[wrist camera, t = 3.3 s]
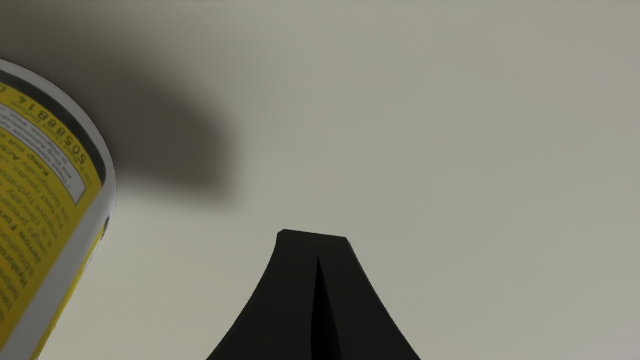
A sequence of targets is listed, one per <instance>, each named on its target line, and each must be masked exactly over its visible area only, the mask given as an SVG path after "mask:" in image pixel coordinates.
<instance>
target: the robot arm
mask: <svg viewBox="0 0 640 360" xmlns="http://www.w3.org/2000/svg"><path fill="white" fill-rule="evenodd" d="M206 360H421V359H420V358H419V357H418V355H417V354H416V353H415V351H414V350H413V349H412V347H411V346H410V344H409V343H408V342H407V340H406V339H405V337H404V336H403V335H402V333H401V332H400V330H399V329H398V327H397V326H396V324H395V323H394V321H393V320H392V318H391V317H390V315H389V313H388V312H387V310H386V308H385V307H384V305H383V304H382V302H381V300H380V299H379V297H378V295H377V294H376V292H375V290H374V289H373V287H372V285H371V283H370V282H369V280H368V278H367V276H366V274H365V272H364V270H363V269H362V267H361V265H360V263H359V261H358V259H357V257H356V255H355V253H354V251H353V249H352V247H351V245H350V243H349V241H348V240H347V238H346V237H341V236H333V235H326V234H318V233H311V232H303V231H296V230H288V229H283V230H282V231H280V232H278V233H277V238H276V244H275V248H274V251H273V254H272V256H271V259H270V261H269V263H268V265H267V268H266V270H265V272H264V274H263V276H262V277H261V279H260V281H259V283H258V285H257V287H256V289H255V290H254V292H253V294H252V296H251V297H250V299H249V301H248V302H247V304H246V305H245V307H244V308H243V310H242V311H241V313H240V314H239V316H238V317H237V319H236V321H235V322H234V324H233V325H232V326H231V328H230V329H229V331H228V332H227V333H226V335H225V336H224V337H223V339H222V340H221V341H220V343H219V344H218V345H217V347H216V348H215V349H214V350H213V352H212V353H211V354H210V355H209V357H208V358H207V359H206Z"/></svg>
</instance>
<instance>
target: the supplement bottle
mask: <svg viewBox="0 0 640 360" xmlns="http://www.w3.org/2000/svg"><path fill="white" fill-rule="evenodd" d="M115 199H116V178H115V171H114V166H113V162H112V159H111V156H110V153H109V150H108V148H107V146H106V144H105V142H104V139H103V138H102V136H101V134H100V133H99V131H98V130H97V128H96V126H95V125H94V123H93V122H92V121H91V119H90V118H89V117H88V115H87V114H86V113H85V112H84V111H83V110H82V109H81V108H80V106H79V105H78V104H77V103H76V102H75V101H74V100H72V99H71V98H70V97H69V96H68V95H67V94H66V93H65V92H63V91H62V90H61V89H60V88H58V87H57V86H55V85H54V84H53V83H51V82H49V81H48V80H46V79H44V78H43V77H41V76H39V75H37V74H35V73H34V72H32V71H30V70H28V69H25V68H23V67H21V66H19V65H16V64H13V63H10V62H7V61H5V60H2V59H0V360H37V359H38V357H39V355H40V353H41V351H42V349H43V347H44V345H45V343H46V341H47V340H48V338H49V336H50V334H51V332H52V331H53V329H54V328H55V326H56V323H57V321H58V319H59V317H60V315H61V313H62V312H63V310H64V308H65V306H66V304H67V302H68V300H69V299H70V297H71V295H72V293H73V292H74V290H75V288H76V286H77V284H78V282H79V280H80V278H81V277H82V275H83V273H84V271H85V269H86V267H87V265H88V263H89V262H90V260H91V258H92V256H93V254H94V252H95V250H96V248H97V246H98V244H99V242H100V240H101V239H102V237H103V235H104V233H105V230H106V228H107V226H108V224H109V221H110V219H111V216H112V213H113V209H114V205H115Z"/></svg>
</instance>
